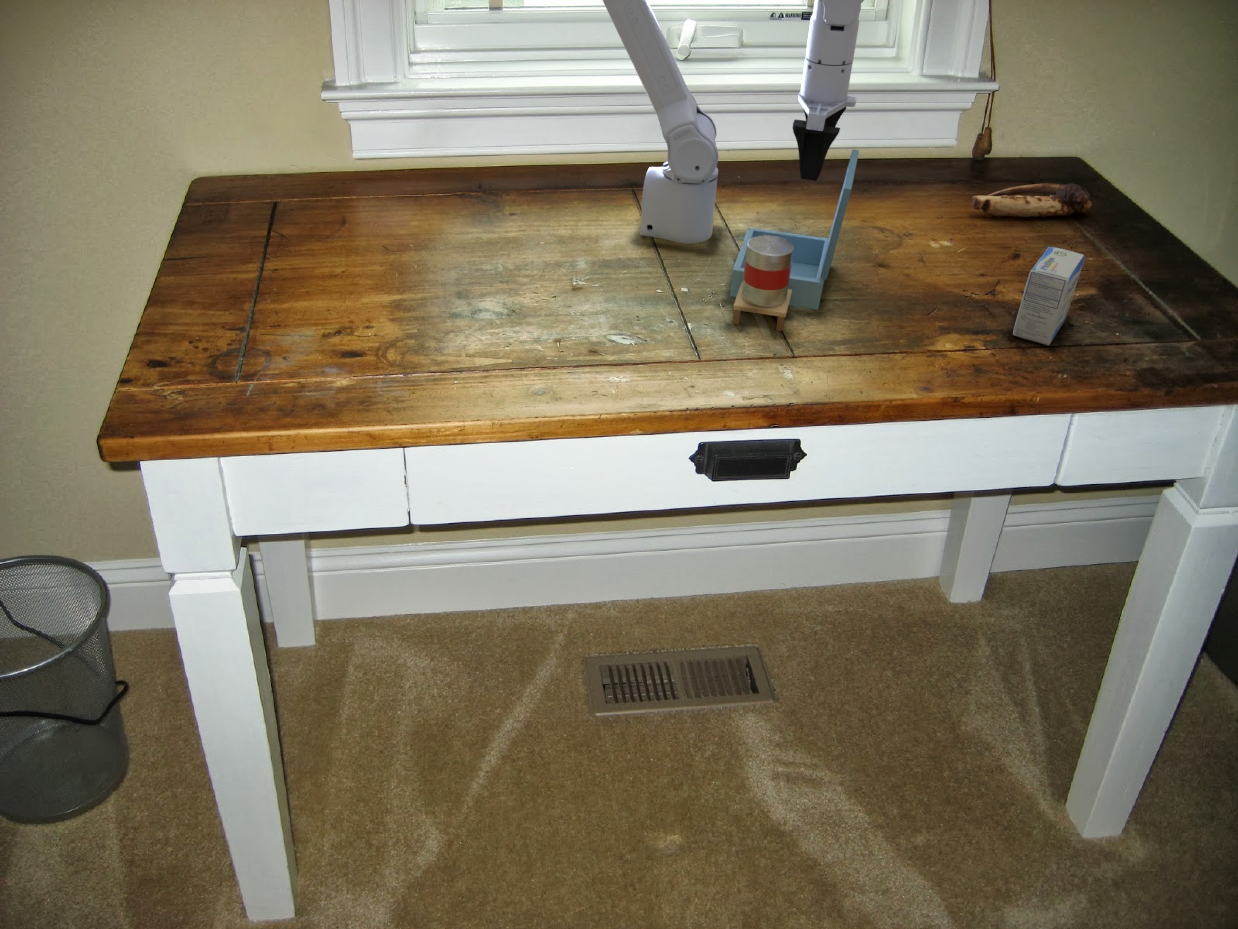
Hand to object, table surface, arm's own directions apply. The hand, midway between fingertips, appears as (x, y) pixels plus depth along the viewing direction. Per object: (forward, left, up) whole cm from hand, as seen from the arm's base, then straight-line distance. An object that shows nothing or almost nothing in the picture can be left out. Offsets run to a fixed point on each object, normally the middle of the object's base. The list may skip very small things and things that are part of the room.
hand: (812, 167), depth 137 cm
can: (-2, -23, -7) cm, 24 cm away
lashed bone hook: (+30, +22, -11) cm, 38 cm away
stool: (-2, -23, -10) cm, 25 cm away
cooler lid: (+4, -13, 0) cm, 14 cm away
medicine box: (+30, -14, -11) cm, 35 cm away
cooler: (-1, -13, -10) cm, 17 cm away
